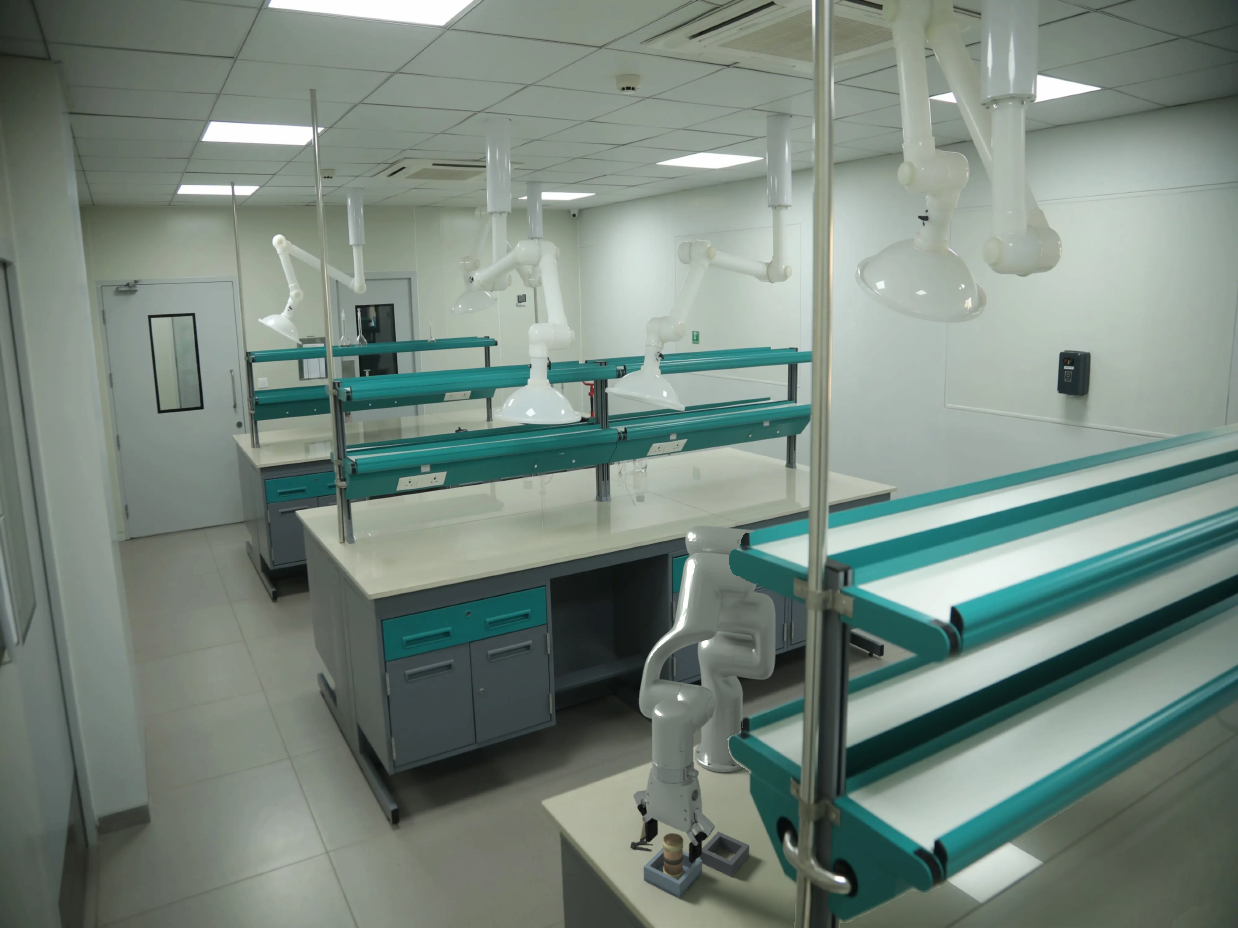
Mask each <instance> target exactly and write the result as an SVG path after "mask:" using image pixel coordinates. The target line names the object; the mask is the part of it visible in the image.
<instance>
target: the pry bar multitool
mask: <svg viewBox="0 0 1238 928" xmlns="http://www.w3.org/2000/svg"><path fill="white" fill-rule="evenodd" d="M642 822H643V823H642V827H641V832H640V838H639V841H636V842H635V841H632V842H630V849H631V850H640V851H643V852H653V849H652V848H648V847H643V846H654V844H653V843H649V842H647V841H646V833H645V822H644V821H642Z"/></svg>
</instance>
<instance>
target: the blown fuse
mask: <svg viewBox="0 0 1238 928" xmlns="http://www.w3.org/2000/svg"><path fill="white" fill-rule="evenodd" d="M662 848H664V853H663V859H664V867H663V873H665V874H667V875H669V876H671V877H673V878H675V879H677V880H679V879H680V878H681V877H682V875H683V851H684V849H683V848H684V838H683V836H682V835H681V834H679V833H675V832H674V833H671V832H670V833H667V834H665V835H664V836H663V838H662Z"/></svg>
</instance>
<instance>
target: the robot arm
mask: <svg viewBox="0 0 1238 928" xmlns="http://www.w3.org/2000/svg"><path fill="white" fill-rule="evenodd" d="M754 531H755V530H752V529H743V528H742V529H741V528H733V527H732V528H731V527H723V526H722V527H721V526H712V525H695V526H693V527H691V528H689V529H687V531H686V534H685V541H684V542H685V546H686V551H687V553H688V555H689V556H688V557H687V559H686V560H685V562H684V565H683V569H682V570H683V571H682V577H681V582H680V589H679V594H678V601H677V607H676V612H675V617H674V618H675V620H674V623H673V625H672V628H671V629H670V630H669V631H668V632H667V633H665V634H664V635H663V636H662V637H661V638H659V640H657V642H656V643H655V645H654V646H653V647H652V649H651V651H650V652H649V654H648V656H647V657H646V660H645V662H644V667H643V671H642V678H641V683H640V689H639V698H638V704H639V705H638V706H639V710H640V712H641V713H642V714H643V716H644V717H646V718H648V719H651V734H652V735H651V736H652V739H651V742H652V743H651V744H652V745H651V748H652V750H651V751H652V752H651V753H652V754H651V755H652V756H651V757H652V763H651V764H652V767H651V768H650V770H649V774H648V778H647V784H646V790H638V791H636V792H635V793H634V794H633V798H634V802H635V803H636V805H637V806H636V808H637V810H638V811H639V813H640V815H641V816H642V817H641V820H642V822H645V833H646V841H647V843H650V842H652V840H654V839H655V838H656V837H657V836H658V833H659V822H660V823H662V824H664V825H667V826H669V827H671V828H673V829H675V830H678V831H680V832H683V833H685V834H686V835H687V837H688V838H689V840H690V842H689V843H688V854H689V861H690V862H691V863H693V862H694V861H695V860H696V859H697V858H699V859H700V856H701V854H702V848H703V842H704V841H705V840H706V839H708V838H709V836H711V834H712V832H713V831H714V829H715V828H716V826H715V824H714V823H713V822H712V821H711V820H710V819H709V818H708V817H707V816H706V815H705V814H704V813H703V802H702V801H703V800H702V799H703V798H702V793H701V786H700V782H699V777H698V776H699V775H700V772H699V770H697V769H696V768H695V762H694V759H695V761H696V762H697V764H699V765H700V766H701V767H703V768H704V769H706V770H709V771H713V772H717V773H729V772H735V771H738V770H740V769H742V768H743V767H741V766H740V765H739V764H737V763H736V762H735V761H734V760H733V759H732V757H731V755H730V753H729V749H728V740H727V739H728V738H729V737H730V736H732V735H735V734H738V733H739V732H740V731H741V721H742V722H743V708H744V707H743V703H744V702H743V701H744V699H743V698H744V697H743V695H744V693H743V692H744V691H743V687H742V684H741V682H740V680H739V678H746V679H752V680H753V679H754V680H766V679H769V678H770V677H771V676H772V675H773V672H774V669H775V664H776V608H775V604H774V601H773V599H772V598H771V597H770V596H769V595H768V594H765V593H763V592H756V591H755V590H756V587H757V585H755V584H753V583H751V582H749V581H746V580H745V579H743V578H741V577H740V576H736V575H734V574H733V573H732V571H731V569H730V565H729V555H730V553H731V551H732V550H734V549H737V548H739V547H740V544H741V539H742V537H743V535H744V534H745V533H750V532H754ZM695 644H697V655H698V658H697V659H698V662H699V667H700V668H699V669H700V677H701V680H700V682H701V685H698V684H692V683H685V682H680V681H673V680H667V679H660V676H661V675H660V674H661V671H662V669H663V666H664V664H665V662H666V661H667V659H668V658H670V656H671V655H672V654H674V653H675V652H677V651H680V650H681V649H683V648H686V647H687V646H691V645H695ZM738 677H739V678H738ZM699 730H700V733H701V735H700V736H701V738H700V740H701V741H700V744H698V745H696V747H695V749H694V735H695V734H696V733H697V732H698V731H699ZM739 768H740V769H739ZM693 830H694V831H693Z"/></svg>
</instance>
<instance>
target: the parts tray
mask: <svg viewBox="0 0 1238 928" xmlns="http://www.w3.org/2000/svg"><path fill="white" fill-rule="evenodd" d="M663 853H664V848H663V847H662V848H661V849H660V850H659V851H657V853H656V854H655V855H654V856H653V857H652V858H651V859H650V860H649V861H648V862H647V863H646V864H645V865H643V881H644V882H646V883H648V884H650V885H652V886H654V887H656V888H658V889H660V890H662V891H664V892H666V893H667V894H669V895H672V896H674V897H675V898H677V899H681V897H682V896H683V895H684V894H686V892H687V891H688V889H690V887H692V885H693V884H694V883H695V882H696V881H698V879H699V877H700V876H702V874H703V863H702V860H701V859H700V857H699V858H697V859H696V860H695V861H694V862H693V863H691V862H690V861H689V852H686V851H684V850H683V875H682V877H681V878H680V879H679V880H677V879H675V878H673V877H671V876H669V875H667V874H665V873H663V867H664V859H663Z"/></svg>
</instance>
